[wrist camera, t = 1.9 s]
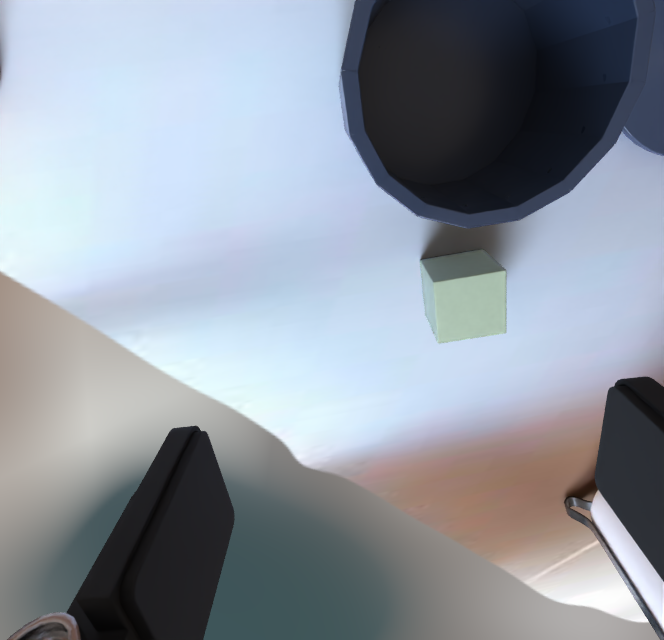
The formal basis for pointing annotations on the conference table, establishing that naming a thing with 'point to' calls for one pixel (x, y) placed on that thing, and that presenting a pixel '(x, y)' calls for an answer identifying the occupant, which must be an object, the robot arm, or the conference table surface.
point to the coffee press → (624, 557)
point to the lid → (651, 95)
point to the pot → (490, 98)
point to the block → (464, 295)
